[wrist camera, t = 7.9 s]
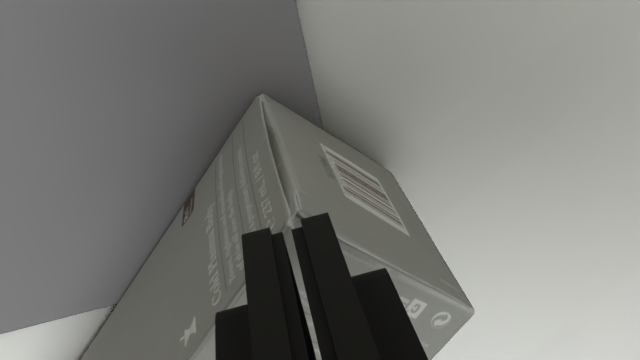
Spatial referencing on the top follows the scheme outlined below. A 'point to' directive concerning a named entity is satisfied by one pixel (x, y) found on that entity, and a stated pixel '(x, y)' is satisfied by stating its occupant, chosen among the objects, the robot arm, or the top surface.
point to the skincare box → (281, 216)
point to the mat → (121, 131)
